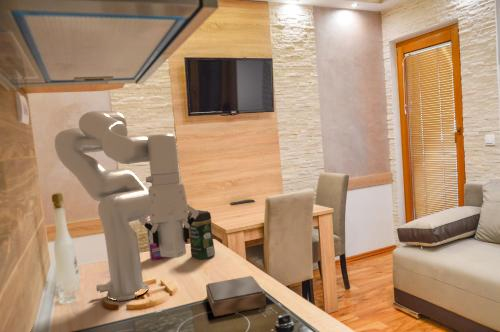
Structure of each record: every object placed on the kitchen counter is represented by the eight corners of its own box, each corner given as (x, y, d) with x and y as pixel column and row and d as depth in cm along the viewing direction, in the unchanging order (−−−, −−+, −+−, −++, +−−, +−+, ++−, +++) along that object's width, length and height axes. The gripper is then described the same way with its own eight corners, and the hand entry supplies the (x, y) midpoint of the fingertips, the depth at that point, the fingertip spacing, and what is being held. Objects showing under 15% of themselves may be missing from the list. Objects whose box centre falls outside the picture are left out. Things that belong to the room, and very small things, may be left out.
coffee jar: (188, 257, 158) (183, 211, 157) (204, 252, 164) (199, 207, 162) (202, 261, 151) (196, 213, 150) (218, 255, 156) (213, 209, 155)
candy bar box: (176, 252, 167) (171, 214, 166) (179, 255, 163) (174, 215, 162) (149, 258, 163) (144, 218, 162) (151, 261, 158) (146, 220, 157)
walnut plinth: (214, 316, 102) (212, 301, 102) (207, 296, 116) (205, 283, 116) (266, 306, 105) (264, 291, 105) (253, 288, 119) (252, 275, 119)
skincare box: (187, 253, 110) (182, 210, 109) (177, 258, 106) (172, 214, 105) (169, 252, 113) (164, 210, 112) (158, 257, 109) (154, 213, 108)
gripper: (131, 184, 102) (138, 252, 103) (199, 177, 106) (205, 242, 108) (133, 181, 109) (139, 245, 111) (196, 175, 113) (201, 236, 115)
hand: (171, 243), depth 109 cm, fingers closed on skincare box, 7 cm apart
